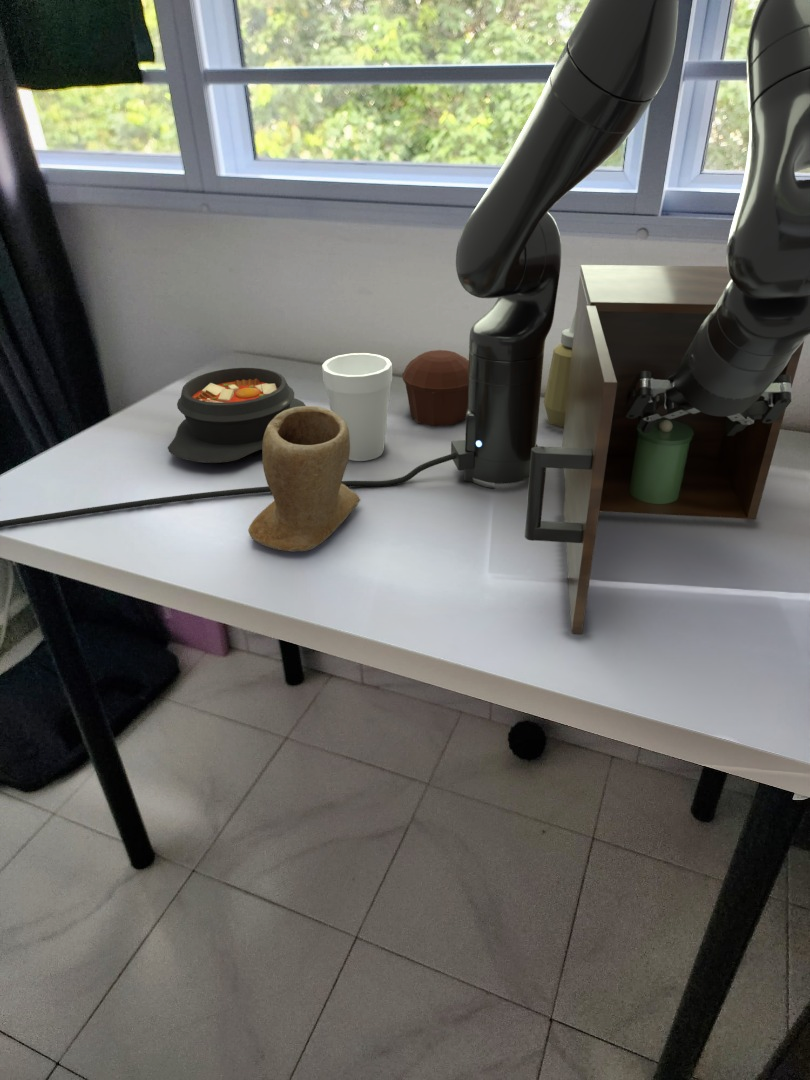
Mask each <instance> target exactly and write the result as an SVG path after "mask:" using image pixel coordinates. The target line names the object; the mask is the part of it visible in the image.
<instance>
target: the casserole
mask: <svg viewBox="0 0 810 1080" xmlns="http://www.w3.org/2000/svg"><path fill="white" fill-rule="evenodd" d="M176 406H177V410H178V411H179V412H180V413H181V414H182V415H183V416H184V418H185V419H184V420H182V422H181V423H180V424H179V425H178V427H177V430H176V433H175V437H174V438H173V439H172V441H171V442H170V444H169V445H168V446H167V451H168V453H169V454H171V455H172V456H174V457H177V458H179V459H182V460H185V461H186V460H187V461H190V462H197V463H206V464H207V463H209V464H222V463H231V462H236V461H238V460H240V459H243V458H245V457H247V456H249V455H251V454H253V453H256V452H258V451H262V444H263V437H264V433H265V430H266V428H267V426H268V424H269V423H270V421H271V420H272V419H273V418H274V417H275V416H276V415H277V414H279V413H281V412H282V411H284V410H287V409H290V408H294V407H300V406H307V405H306V404H305V403H304V402H303V401H302V400H300V399H298V398H295V391H294V390H293V388H292V387H290V385H289V384H288V382H287V380H286V378H285V377H284V376H283V375H282V374H280V373H279V372H277V371H273V370H271V369H265V368H259V367H232V368H224V369H218V370H213V371H209V372H206V373H203V374H200V375H197V376H196V377H194V378H191V379H190V380H188V381H187V382H186V383H185V384H184V385H183V386H182V389H181V392H180V397H179V398H178V400H177V402H176Z"/></svg>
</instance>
